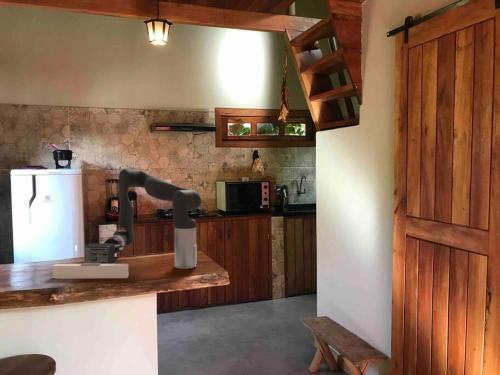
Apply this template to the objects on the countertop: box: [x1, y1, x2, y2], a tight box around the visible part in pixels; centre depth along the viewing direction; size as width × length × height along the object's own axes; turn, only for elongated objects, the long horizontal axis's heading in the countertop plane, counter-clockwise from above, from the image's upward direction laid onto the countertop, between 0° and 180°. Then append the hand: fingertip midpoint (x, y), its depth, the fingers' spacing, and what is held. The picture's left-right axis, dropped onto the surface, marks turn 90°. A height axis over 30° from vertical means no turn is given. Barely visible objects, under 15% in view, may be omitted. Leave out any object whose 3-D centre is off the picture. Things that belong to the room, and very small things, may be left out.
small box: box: [84, 242, 116, 264], centre depth 164 cm, size 11×6×10 cm, turn 86°
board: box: [52, 262, 130, 280], centre depth 152 cm, size 28×3×5 cm, turn 94°
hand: (102, 252), depth 167 cm, fingers closed
